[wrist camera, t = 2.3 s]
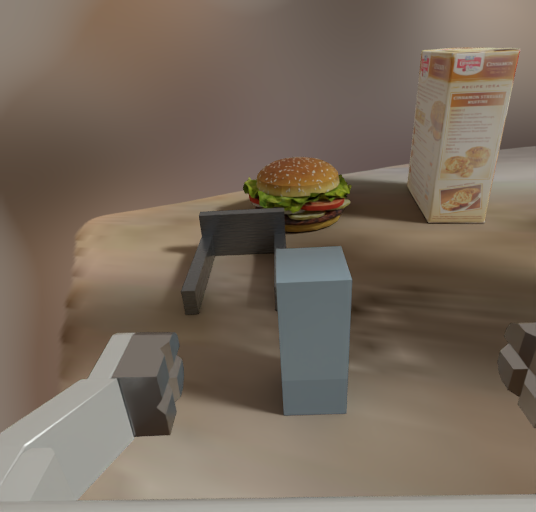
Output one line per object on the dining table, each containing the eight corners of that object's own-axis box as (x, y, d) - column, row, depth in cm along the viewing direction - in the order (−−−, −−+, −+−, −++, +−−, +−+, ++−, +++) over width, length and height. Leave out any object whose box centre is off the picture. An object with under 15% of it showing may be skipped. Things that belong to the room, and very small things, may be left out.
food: (324, 193, 63) (325, 142, 60) (364, 227, 51) (368, 165, 48) (239, 206, 61) (234, 153, 57) (260, 244, 49) (255, 180, 45)
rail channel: (285, 247, 47) (284, 207, 45) (289, 310, 36) (287, 261, 34) (206, 251, 48) (200, 211, 45) (185, 314, 36) (176, 266, 34)
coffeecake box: (486, 224, 50) (523, 47, 41) (426, 224, 51) (449, 51, 42) (452, 186, 63) (475, 45, 54) (405, 186, 64) (419, 49, 55)
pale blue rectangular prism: (337, 369, 29) (341, 246, 25) (346, 413, 26) (352, 279, 21) (282, 370, 29) (275, 249, 25) (283, 415, 26) (276, 283, 21)
